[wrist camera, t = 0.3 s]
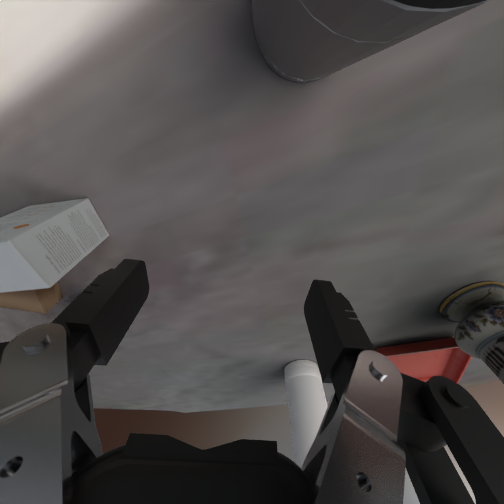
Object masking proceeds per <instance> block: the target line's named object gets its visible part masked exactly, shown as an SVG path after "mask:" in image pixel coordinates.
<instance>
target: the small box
mask: <svg viewBox="0 0 504 504" xmlns="http://www.w3.org/2000/svg"><path fill="white" fill-rule="evenodd" d="M108 236H109V233H108V232H107V230H106V228H105V227H104V225H103V223H102V222H101V220H100V218H99V216H98V214H97V213H96V211H95V209H94V208H93V206H92V204H91V202H90V200H89V199H88V198H84V199H77V200H69V201H62V202H54V203H46V204H38V205H30V206H28V207H25V208H23V209H20V210H18V211H15V212H13V213H11V214H8V215H6V216H3V217H1V218H0V293H3V292H13V291H24V290H34V289H45V288H51V287H52V286H53V285H54V284H55V283H56V282H58V281H59V280H60V279H61V278H62V277H63V276H64V275H66V274H67V273H68V272H69V271H70V270H71V269H72V268H74V267H75V266H76V265H77V264H78V263H79V262H80V261H81V260H82V259H84V258H85V257H86V256H87V255H88V254H89V253H90V252H92V251H93V250H94V249H95V248H96V247H97V246H98V245H99V244H100V243H102V242H103V241H104V240H105V239H106V238H107V237H108Z"/></svg>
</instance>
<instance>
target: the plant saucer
mask: <svg viewBox="0 0 504 504" xmlns="http://www.w3.org/2000/svg"><path fill="white" fill-rule="evenodd" d="M375 351H376V352H378V353H380V354H382V355H384V356H385V357H387V358H388V359H389V360H391V361H392V362H393V363H394V365H395V366H396V367H397V368H398V370H399V372H401V373H403V374H406V375H408V376H411V377H413V378H416V379H419V380H421V381H424V382H427V381H428V380H429V379H430V378H431V377H433V376H443V377H446V378H448V379H450V380H452V381H454V382H456V383H457V384H458V382H459V381H460V379H461V377H462V375H463V373H464V371H465V369H466V367H467V365H468V364H469V362H470V360H471V358H472V356H471V355H469V354H467V353H465V352H464V351H462V350H461V349H460V348H459V346H458V345H457V343H456V341H455V338H442V339H436V340H429V341H422V342H415V343H408V344H401V345H394V346H388V347H381V348H377V349H375Z"/></svg>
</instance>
